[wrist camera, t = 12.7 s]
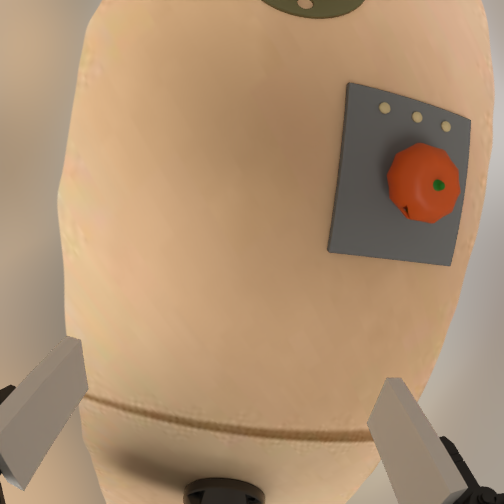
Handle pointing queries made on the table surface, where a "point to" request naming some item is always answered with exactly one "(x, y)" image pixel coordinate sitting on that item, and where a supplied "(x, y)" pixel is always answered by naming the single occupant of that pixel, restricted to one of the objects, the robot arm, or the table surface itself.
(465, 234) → the table surface
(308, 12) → the flange
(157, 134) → the table surface
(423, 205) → the pumpkin
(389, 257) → the mat
